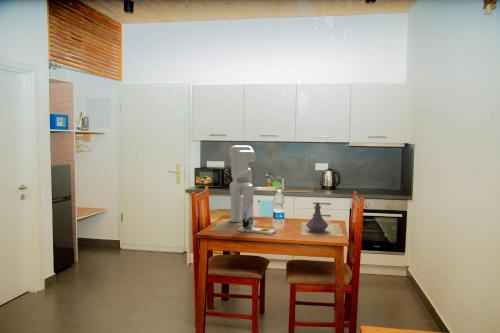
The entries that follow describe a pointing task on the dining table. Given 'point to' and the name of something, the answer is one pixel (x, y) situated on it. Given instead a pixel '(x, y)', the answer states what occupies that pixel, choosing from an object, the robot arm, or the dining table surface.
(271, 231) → the white flat tray
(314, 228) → the flask
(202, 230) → the dining table surface
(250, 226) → the nut block
